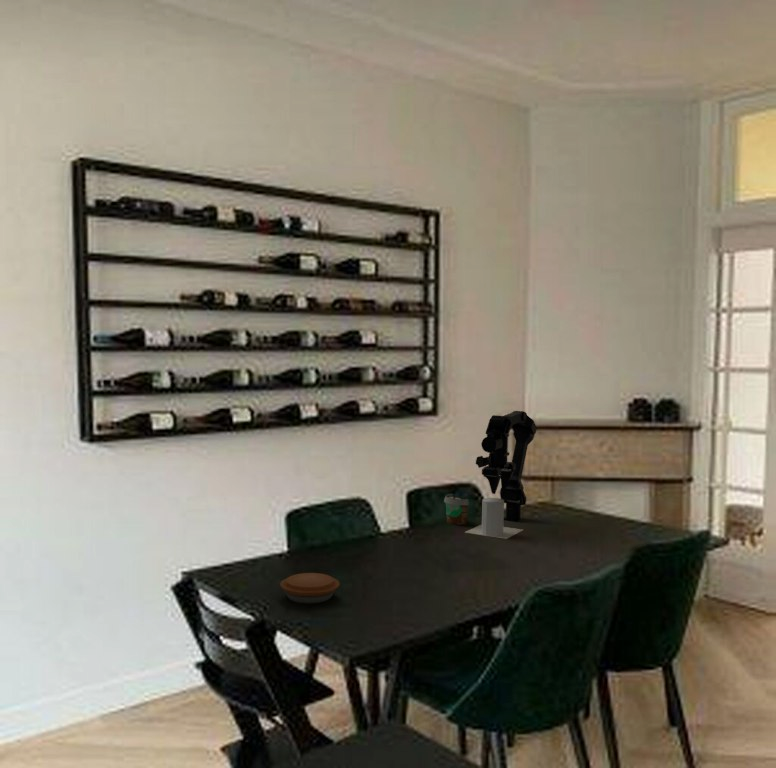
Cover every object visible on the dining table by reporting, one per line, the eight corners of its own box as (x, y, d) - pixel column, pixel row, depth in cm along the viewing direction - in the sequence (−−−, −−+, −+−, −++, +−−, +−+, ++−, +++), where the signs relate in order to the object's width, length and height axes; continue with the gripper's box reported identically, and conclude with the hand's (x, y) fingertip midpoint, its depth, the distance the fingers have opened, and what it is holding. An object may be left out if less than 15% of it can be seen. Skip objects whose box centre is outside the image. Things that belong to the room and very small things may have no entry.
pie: (267, 596, 203) (268, 577, 203) (313, 584, 214) (314, 566, 214) (304, 611, 192) (305, 591, 192) (351, 597, 203) (351, 578, 203)
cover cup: (493, 530, 279) (494, 497, 278) (507, 534, 272) (508, 500, 272) (477, 532, 275) (478, 499, 274) (491, 537, 268) (492, 502, 268)
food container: (437, 520, 294) (438, 494, 293) (451, 519, 296) (452, 493, 296) (453, 527, 282) (454, 500, 282) (468, 526, 285) (469, 499, 284)
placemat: (482, 524, 288) (482, 523, 288) (523, 530, 280) (523, 529, 280) (464, 533, 275) (464, 532, 275) (506, 539, 266) (506, 538, 266)
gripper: (489, 445, 296) (488, 485, 297) (468, 450, 280) (467, 493, 281) (517, 447, 290) (515, 489, 291) (497, 453, 274) (496, 496, 275)
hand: (498, 491), depth 285 cm, fingers open, 9 cm apart
